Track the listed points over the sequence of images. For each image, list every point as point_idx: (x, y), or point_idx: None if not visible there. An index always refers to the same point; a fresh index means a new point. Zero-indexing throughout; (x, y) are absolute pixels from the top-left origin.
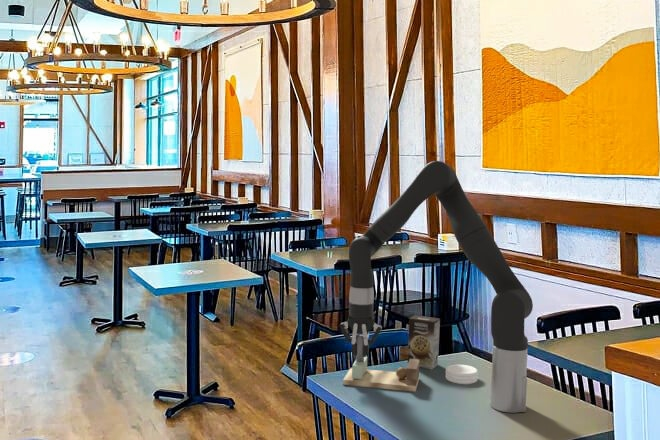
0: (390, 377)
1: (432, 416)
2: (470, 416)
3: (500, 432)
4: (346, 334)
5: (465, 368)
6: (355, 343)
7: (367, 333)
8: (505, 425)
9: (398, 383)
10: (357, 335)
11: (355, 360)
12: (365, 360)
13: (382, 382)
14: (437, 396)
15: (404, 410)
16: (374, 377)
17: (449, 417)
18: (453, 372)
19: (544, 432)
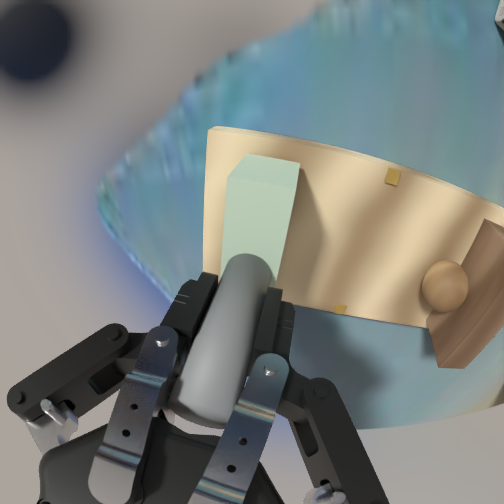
0: (400, 257)
1: (403, 402)
2: (461, 393)
3: (458, 414)
4: (102, 395)
5: None
6: (184, 360)
7: (256, 439)
8: (480, 401)
9: (406, 312)
10: (172, 406)
11: (221, 264)
12: (281, 255)
13: (353, 307)
14: None
15: (364, 393)
16: (330, 260)
17: (428, 400)
18: None
19: (500, 402)
